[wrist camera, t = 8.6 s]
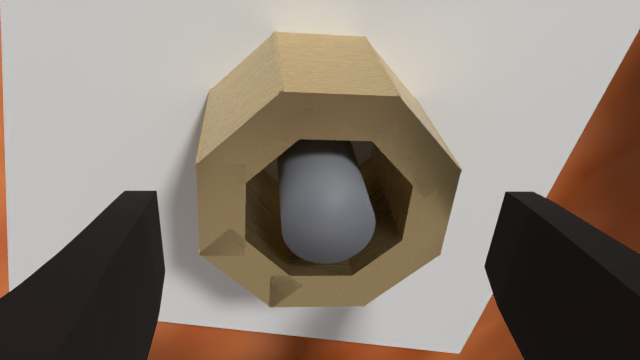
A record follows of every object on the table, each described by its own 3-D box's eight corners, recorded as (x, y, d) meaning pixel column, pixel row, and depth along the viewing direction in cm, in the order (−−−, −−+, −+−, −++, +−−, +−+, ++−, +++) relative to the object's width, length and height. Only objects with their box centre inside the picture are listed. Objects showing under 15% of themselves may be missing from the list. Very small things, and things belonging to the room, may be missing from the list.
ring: (426, 38, 14) (480, 98, 11) (393, 215, 17) (428, 306, 14) (208, 27, 13) (191, 86, 10) (212, 213, 16) (200, 309, 13)
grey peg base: (668, -100, 14) (894, -74, 9) (447, 324, 22) (505, 466, 17) (20, -322, 11) (-185, -471, 6) (26, 274, 19) (-61, 433, 14)
